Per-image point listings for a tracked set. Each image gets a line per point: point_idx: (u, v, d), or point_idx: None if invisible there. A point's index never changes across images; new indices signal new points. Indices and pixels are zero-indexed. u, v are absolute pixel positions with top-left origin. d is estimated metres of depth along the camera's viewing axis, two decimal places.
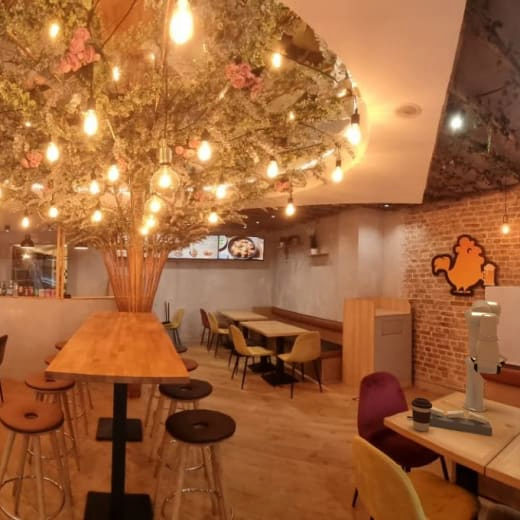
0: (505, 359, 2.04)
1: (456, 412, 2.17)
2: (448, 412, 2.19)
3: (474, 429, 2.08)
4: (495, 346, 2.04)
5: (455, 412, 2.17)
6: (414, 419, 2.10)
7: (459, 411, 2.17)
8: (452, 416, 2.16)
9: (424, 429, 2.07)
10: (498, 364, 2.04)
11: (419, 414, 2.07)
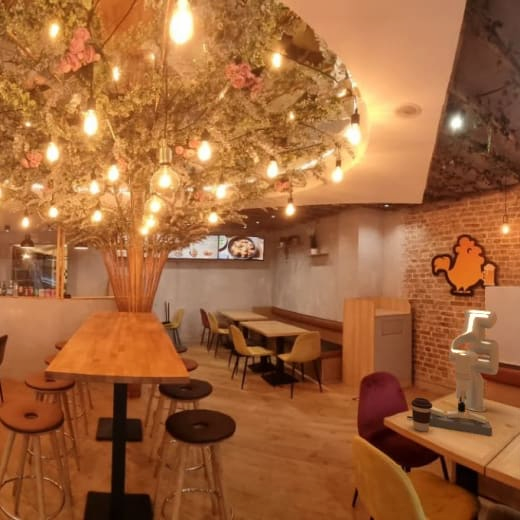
0: None
1: (456, 412, 2.17)
2: (448, 412, 2.19)
3: (474, 429, 2.08)
4: None
5: (455, 412, 2.17)
6: (414, 419, 2.10)
7: (459, 411, 2.17)
8: (452, 416, 2.16)
9: (424, 429, 2.07)
10: None
11: (419, 414, 2.07)
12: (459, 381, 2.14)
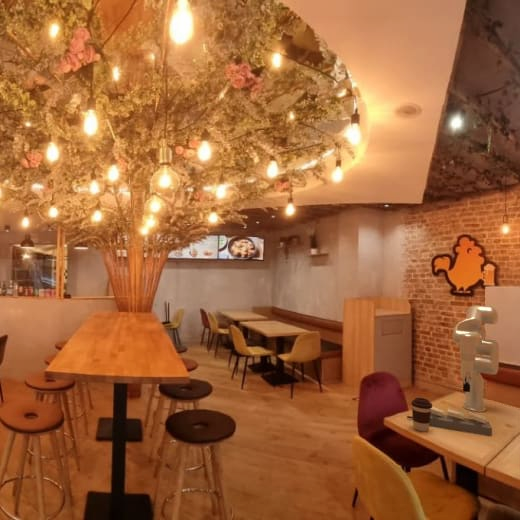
0: None
1: (457, 412, 2.17)
2: (449, 410, 2.19)
3: (474, 429, 2.08)
4: None
5: (456, 412, 2.17)
6: (414, 419, 2.10)
7: (460, 413, 2.17)
8: (452, 415, 2.16)
9: (424, 429, 2.07)
10: None
11: (419, 414, 2.07)
12: (464, 362, 2.15)
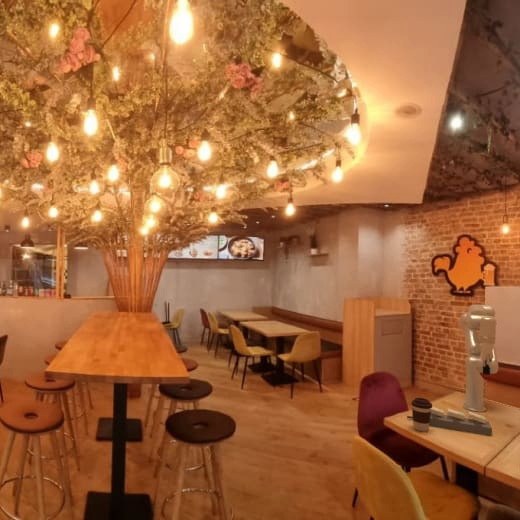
0: None
1: (457, 412, 2.17)
2: (449, 410, 2.19)
3: (474, 429, 2.08)
4: None
5: (456, 412, 2.17)
6: (414, 419, 2.10)
7: (460, 413, 2.17)
8: (452, 415, 2.16)
9: (424, 429, 2.07)
10: None
11: (419, 414, 2.07)
12: (484, 344, 2.19)
